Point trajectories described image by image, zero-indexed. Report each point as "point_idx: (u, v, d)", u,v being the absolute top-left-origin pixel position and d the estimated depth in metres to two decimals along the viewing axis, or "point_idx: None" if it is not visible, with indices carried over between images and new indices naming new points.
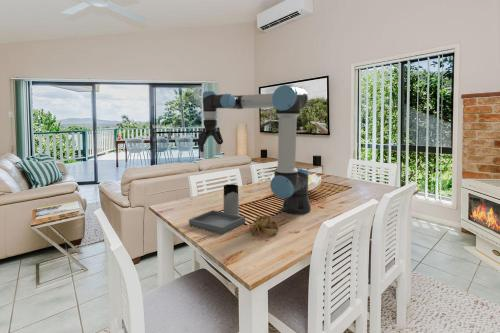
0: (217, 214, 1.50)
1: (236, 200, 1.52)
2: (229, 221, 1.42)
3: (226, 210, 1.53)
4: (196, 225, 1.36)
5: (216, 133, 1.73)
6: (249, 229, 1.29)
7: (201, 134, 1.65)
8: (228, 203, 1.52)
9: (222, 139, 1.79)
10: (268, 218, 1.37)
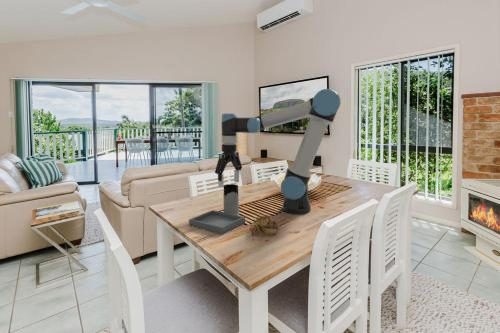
0: (217, 214, 1.50)
1: (236, 200, 1.52)
2: (229, 221, 1.42)
3: (226, 210, 1.53)
4: (196, 225, 1.36)
5: (235, 159, 1.56)
6: (249, 229, 1.29)
7: (219, 161, 1.48)
8: (228, 203, 1.52)
9: None
10: (268, 218, 1.37)
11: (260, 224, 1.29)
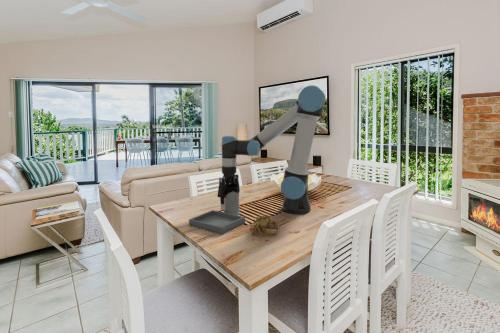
0: (217, 214, 1.50)
1: (236, 200, 1.53)
2: (229, 221, 1.42)
3: (226, 210, 1.53)
4: (196, 225, 1.36)
5: (234, 181, 1.57)
6: (249, 229, 1.29)
7: (220, 185, 1.50)
8: (228, 203, 1.52)
9: (239, 188, 1.62)
10: (268, 218, 1.37)
11: (260, 224, 1.29)
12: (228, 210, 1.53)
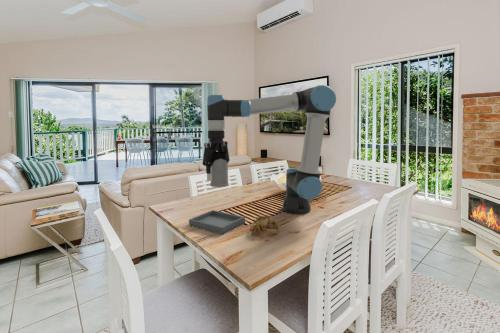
0: (217, 214, 1.50)
1: (225, 169, 1.33)
2: (229, 221, 1.42)
3: (213, 180, 1.34)
4: (196, 225, 1.36)
5: (223, 148, 1.38)
6: (250, 229, 1.29)
7: (206, 151, 1.31)
8: (215, 172, 1.33)
9: None
10: (268, 218, 1.37)
11: (260, 224, 1.29)
12: (215, 180, 1.33)
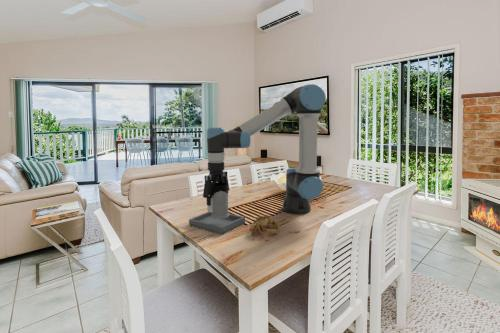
0: None
1: (225, 200, 1.34)
2: (229, 221, 1.42)
3: (214, 212, 1.35)
4: (196, 225, 1.36)
5: (223, 179, 1.39)
6: (250, 229, 1.29)
7: (206, 184, 1.31)
8: (215, 204, 1.34)
9: (228, 187, 1.44)
10: (268, 218, 1.37)
11: (260, 224, 1.29)
12: (215, 212, 1.34)
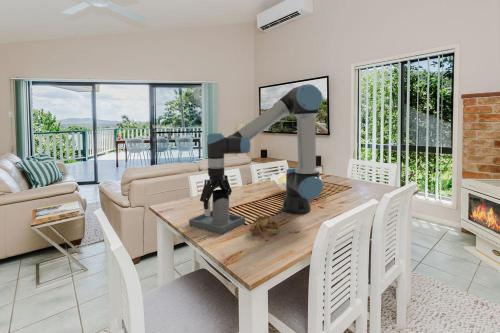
0: None
1: (226, 207, 1.37)
2: None
3: (215, 218, 1.37)
4: (196, 225, 1.36)
5: (223, 183, 1.39)
6: (250, 230, 1.29)
7: (205, 187, 1.31)
8: (217, 211, 1.36)
9: (230, 188, 1.45)
10: (267, 218, 1.37)
11: (260, 224, 1.29)
12: (217, 219, 1.37)
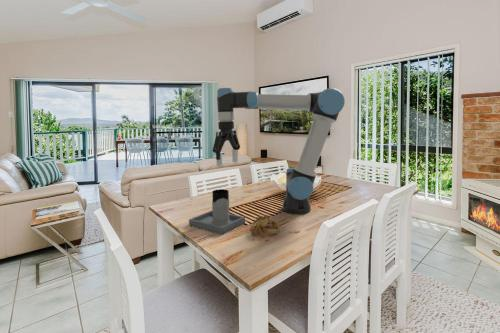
0: None
1: (226, 207, 1.37)
2: None
3: (215, 218, 1.37)
4: (196, 225, 1.36)
5: (233, 137, 1.47)
6: (250, 230, 1.28)
7: (217, 139, 1.39)
8: (217, 211, 1.36)
9: (239, 144, 1.53)
10: (267, 218, 1.37)
11: (261, 224, 1.29)
12: (217, 219, 1.37)
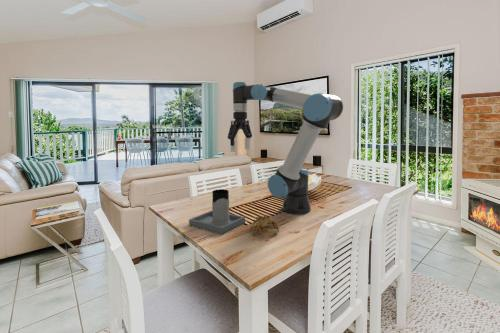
0: None
1: (226, 207, 1.37)
2: None
3: (215, 218, 1.37)
4: (196, 225, 1.36)
5: (246, 126, 1.65)
6: (250, 230, 1.28)
7: (232, 127, 1.57)
8: (217, 211, 1.36)
9: (251, 133, 1.71)
10: (267, 218, 1.37)
11: (261, 224, 1.29)
12: (217, 219, 1.37)
